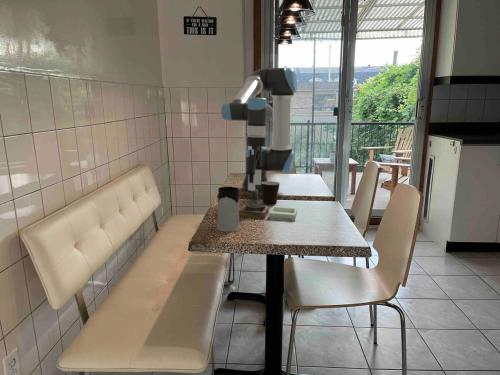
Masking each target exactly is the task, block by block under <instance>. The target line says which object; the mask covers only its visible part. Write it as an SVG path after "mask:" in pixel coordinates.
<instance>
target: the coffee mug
mask: <svg viewBox="0 0 500 375" xmlns="http://www.w3.org/2000/svg"><path fill="white" fill-rule="evenodd" d="M261 185H262V191H261V194H262V195H261V197H262V204H263V205H265V204H266V205H265V206H275V204H276V205H277V201H278V196H279V190H280V182H278V181H271V180H268V181H264V182H261Z"/></svg>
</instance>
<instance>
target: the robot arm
mask: <svg viewBox="0 0 500 375" xmlns="http://www.w3.org/2000/svg"><path fill="white" fill-rule="evenodd" d="M297 91H298V79H297V74H296V71H295V69H293V68H292V67H271V68H270V67H263V68H261V69H257V70H256V71H254V72H252V73H250V74H249V75H248V76H247V78H246V79H245V81H244V85H243V86H242V88H241V89H240V90H239V92H238V93H237V94H236V96H235V97H234V98H233V100H232V101H231V102H229V101H228V102H223V103H222V105H221V110H220V113H221V114H220V115H221V117H222V119H223V120H225V121H231V122H232V121H235V122H236V121H237V122H238V121H242V122H243V121H245V122H247V124H246V125H247V127H246V128H245V130H246V134H247V137H246V145H247V147H251V148H248V149H247V150H246V152H245V175H244V178H243V180H242V185H241V190H244V191H247V192H251V191H255V187H256V189H257V190H258V193H260V192H262V185H261V182H264V181H269V180H268V178H267V172H270V173H271V172H273V173H290V172H292V170H293V167H294V162H295V160H296V159H295V158H296V152H295V151H294V150H293V147H292V146H291V145H290V129H291V128H290V127H291V126H290V125H291V124H290V122H291V99H292V98H293V96H294V94H295V93H296V92H297ZM262 92H270V96H271V97H272V98H273V107H272V106H271V105H270V104H268V103H267V98H265V97H256V96H257V95H259V94H260V93H262ZM272 118H273V126H272V127H273V128H272V129H273V131H272V132H273V134H272V135H273V137H272V138H273V139H272V140H273V141H272V145H271V146H270V147H269V148H270V149H268V146H266V136H267V135H266V134H267V132H266V130H267V124H266V123H267V122H268V121H270V120H272Z"/></svg>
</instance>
